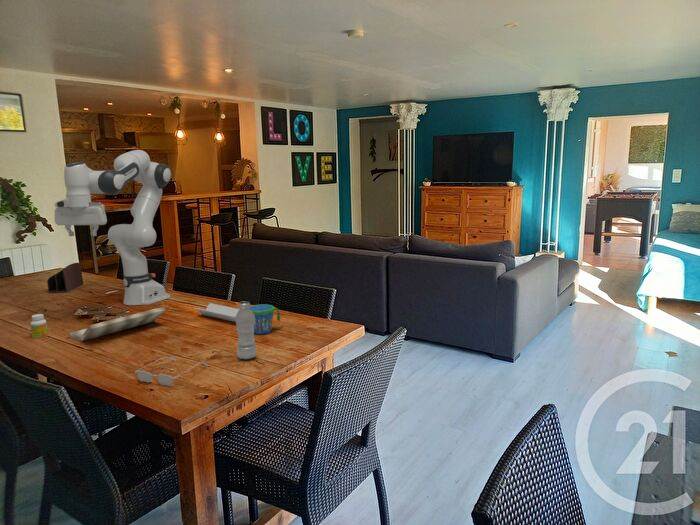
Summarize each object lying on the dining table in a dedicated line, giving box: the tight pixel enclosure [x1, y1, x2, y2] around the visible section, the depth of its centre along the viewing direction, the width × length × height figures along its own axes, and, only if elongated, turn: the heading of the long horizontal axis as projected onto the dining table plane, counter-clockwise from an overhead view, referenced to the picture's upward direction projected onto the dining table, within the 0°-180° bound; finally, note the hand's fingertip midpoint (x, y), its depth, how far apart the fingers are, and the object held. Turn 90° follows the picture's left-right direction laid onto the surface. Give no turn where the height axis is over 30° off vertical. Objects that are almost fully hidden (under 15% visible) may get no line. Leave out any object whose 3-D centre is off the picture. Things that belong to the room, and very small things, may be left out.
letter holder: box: [47, 262, 84, 294], centre depth 277 cm, size 10×20×14 cm, turn 4°
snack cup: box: [250, 303, 281, 335], centre depth 198 cm, size 16×10×10 cm
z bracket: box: [194, 302, 239, 323], centre depth 218 cm, size 12×25×6 cm
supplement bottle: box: [30, 313, 49, 339], centre depth 194 cm, size 5×5×10 cm
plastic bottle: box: [235, 300, 257, 360], centre depth 170 cm, size 6×7×20 cm
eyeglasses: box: [134, 356, 209, 387], centre depth 160 cm, size 15×18×4 cm
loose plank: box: [80, 306, 166, 342], centre depth 196 cm, size 30×12×2 cm
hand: (82, 236), depth 205 cm, fingers open, 8 cm apart
